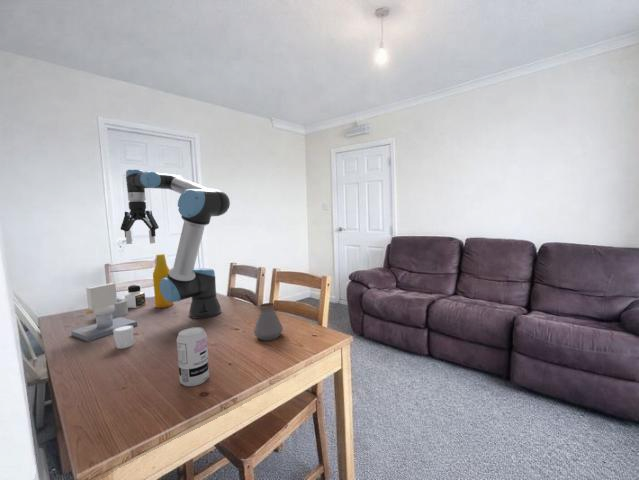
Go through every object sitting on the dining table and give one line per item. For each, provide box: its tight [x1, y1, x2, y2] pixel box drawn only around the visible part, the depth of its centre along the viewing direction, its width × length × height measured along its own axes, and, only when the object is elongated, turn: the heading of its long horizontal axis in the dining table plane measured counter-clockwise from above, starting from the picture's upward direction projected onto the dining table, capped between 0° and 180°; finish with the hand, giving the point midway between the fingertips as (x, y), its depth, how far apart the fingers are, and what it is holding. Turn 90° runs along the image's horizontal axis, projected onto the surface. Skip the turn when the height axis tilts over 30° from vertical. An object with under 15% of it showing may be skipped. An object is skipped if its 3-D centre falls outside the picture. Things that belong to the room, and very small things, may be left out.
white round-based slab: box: [85, 282, 118, 316], centre depth 139 cm, size 12×8×12 cm
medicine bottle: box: [124, 284, 146, 309], centre depth 179 cm, size 7×7×12 cm
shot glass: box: [113, 325, 134, 350], centre depth 122 cm, size 7×7×7 cm
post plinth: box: [70, 312, 138, 342], centre depth 141 cm, size 15×20×8 cm
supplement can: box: [175, 326, 210, 387], centre depth 93 cm, size 8×8×15 cm
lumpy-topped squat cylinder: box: [112, 297, 129, 319], centre depth 162 cm, size 10×13×9 cm
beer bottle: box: [152, 253, 174, 309], centre depth 177 cm, size 9×9×29 cm
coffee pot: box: [242, 294, 284, 341], centre depth 128 cm, size 21×12×15 cm, turn 46°
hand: (140, 243), depth 159 cm, fingers open, 13 cm apart
